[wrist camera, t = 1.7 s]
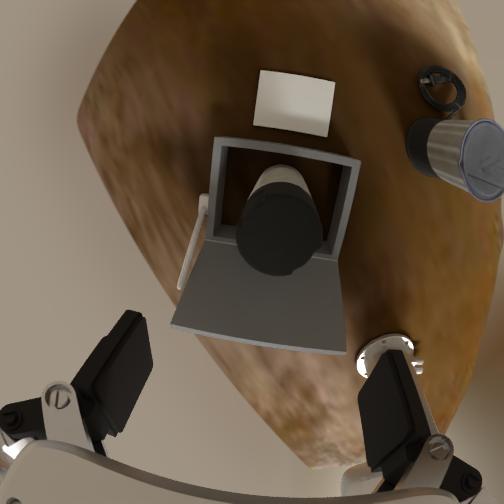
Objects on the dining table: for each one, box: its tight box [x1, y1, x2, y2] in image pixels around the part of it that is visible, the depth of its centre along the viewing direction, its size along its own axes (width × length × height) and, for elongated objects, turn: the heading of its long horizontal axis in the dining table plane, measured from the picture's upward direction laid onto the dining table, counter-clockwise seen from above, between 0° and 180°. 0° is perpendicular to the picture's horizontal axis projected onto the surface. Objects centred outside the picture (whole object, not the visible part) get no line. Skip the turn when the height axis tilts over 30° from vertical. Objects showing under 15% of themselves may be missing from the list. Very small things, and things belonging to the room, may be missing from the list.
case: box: [170, 136, 361, 356], centre depth 31 cm, size 19×18×19 cm
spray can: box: [236, 164, 323, 276], centre depth 29 cm, size 7×7×20 cm
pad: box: [253, 70, 335, 137], centre depth 33 cm, size 10×8×1 cm
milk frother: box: [407, 65, 504, 202], centre depth 24 cm, size 14×16×15 cm
